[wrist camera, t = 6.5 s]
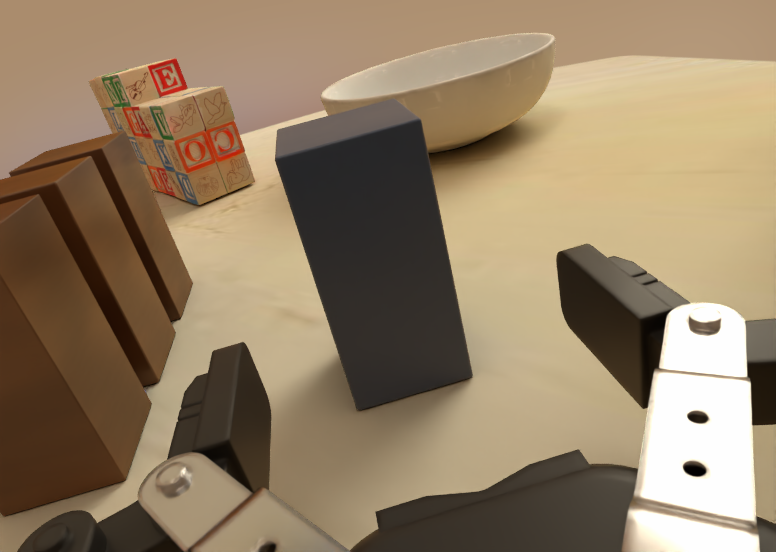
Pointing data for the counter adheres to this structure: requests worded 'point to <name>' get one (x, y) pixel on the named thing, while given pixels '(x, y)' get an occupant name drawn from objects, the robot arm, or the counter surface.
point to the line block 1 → (131, 211)
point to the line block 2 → (102, 258)
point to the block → (376, 248)
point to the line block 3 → (57, 371)
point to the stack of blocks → (176, 130)
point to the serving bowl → (456, 86)
